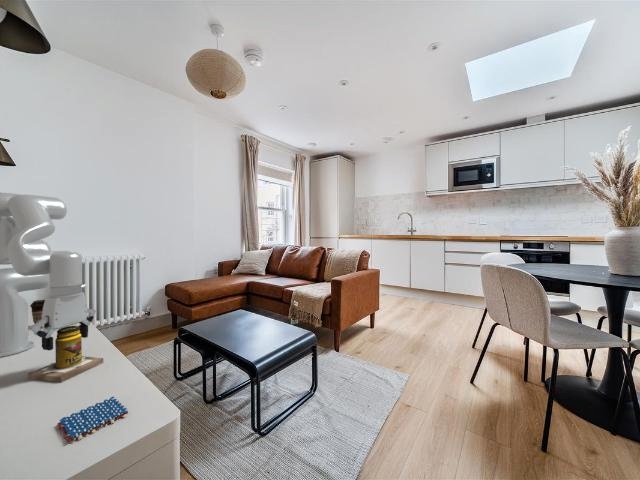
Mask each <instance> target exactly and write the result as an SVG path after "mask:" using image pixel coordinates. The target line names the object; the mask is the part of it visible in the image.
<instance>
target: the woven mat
mask: <svg viewBox="0 0 640 480" xmlns="http://www.w3.org/2000/svg"><path fill="white" fill-rule="evenodd" d="M128 413H129V412H128V410H127V407H125V405H124V404H123V405H122V402H121V403H120V400H118V399H117V398H115V396H111V397H110V398H107V399H103V400H102V401H101V402H96V403H95V404H92V405H89V406H88V407H86V408H84V409H83V408H82V409H80V410H78V411H77V412H73V413H71V414H69V415H68V416H64V417H62V418H60V419H59V422H58V423H57V426H58V430H60V432H61V433H62V434H63V436H65V437H64V440H65V439H66V442H68V443H70V445H73V444H75V441H80V440H82V439H83V438H84V437H85V438H87V437H90V436H89V434H90V433H91V434H95V432H96V430H98V429H100V430H102V429H101V428H103V426H104V428H107V425H112V423H113V424H114V421H115V422H117V421H116V420H118V419H119V420H118V422H119V421H120V418H122V416H123V418H122V419H126V417H127V416H128ZM108 421H109V422H108ZM101 422H102V423H101ZM110 423H111V424H110ZM106 424H107V425H106Z"/></svg>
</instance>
